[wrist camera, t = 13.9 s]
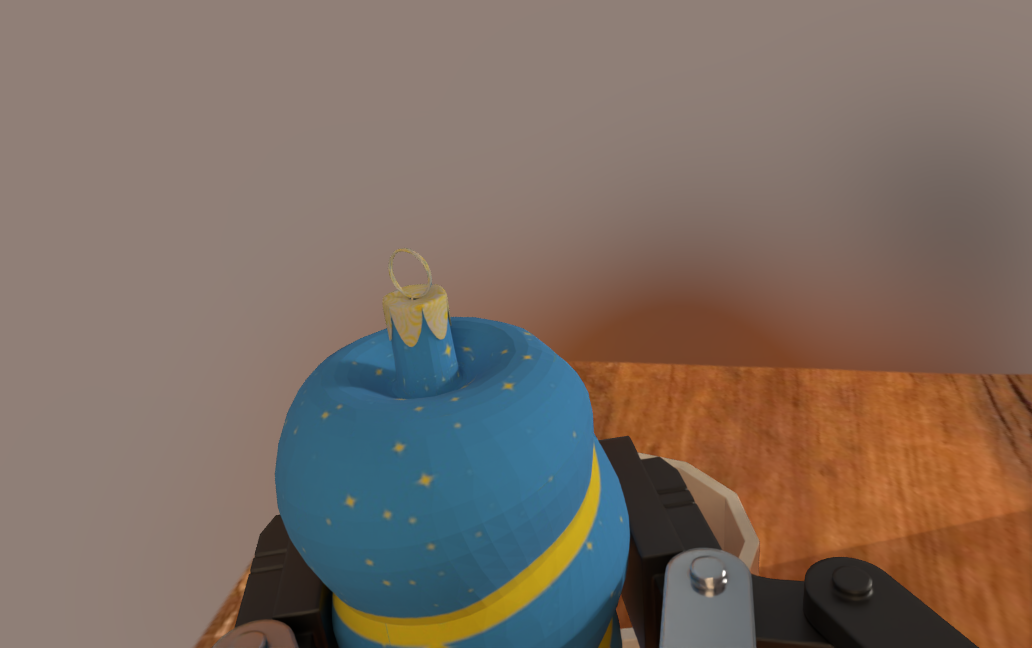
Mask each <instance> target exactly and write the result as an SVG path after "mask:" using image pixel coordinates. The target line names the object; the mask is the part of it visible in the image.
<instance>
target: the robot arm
mask: <svg viewBox="0 0 1032 648" xmlns="http://www.w3.org/2000/svg"><path fill="white" fill-rule="evenodd" d="M598 441H599V443H600V445H601V446H602V448H603V450H604V452H605V454H606V455H607V457H608V459H609V461H610V463H611V465H612V467H613V469H614V471H615V473H616V475H617V477H618V479H619V482H620V485H621V489H622V492H623V495H624V499H625V503H626V507H627V511H628V515H629V528H630V543H629V558H628V568H627V573H626V577H625V581H624V585H623V588H622V592H621V595H622V598H623V601H624V604H625V606H626V609H627V612H628V615H629V618H630V621H631V624H632V626H633V629H634V632H635V635H636V638H637V641H638V644H639V647H640V648H979V647H977V646H976V645H975V644H974V643H973V642H971V641H970V640H969V639H968V638H966V637H965V636H964V635H963V634H961V633H960V632H959V631H958V630H956V629H955V628H954V627H953V626H951V625H950V624H949V623H948V622H947V621H945V620H944V619H943V618H942V617H940V616H939V615H938V614H937V613H935V612H934V611H933V610H932V609H930V608H929V607H928V606H927V605H926V604H924V603H923V602H922V601H921V600H919V599H918V598H917V597H916V596H914V595H913V594H912V593H911V592H909V591H908V590H907V589H906V588H904V587H903V586H902V585H901V584H900V583H898V582H897V581H896V580H895V579H893V578H892V577H891V576H890V575H888V574H887V573H886V572H884V571H883V570H882V569H880V568H878V567H877V566H875V565H873V564H871V563H868V562H866V561H862V560H859V559H854V558H848V557H833V558H827V559H823V560H820V561H818V562H816V563H815V564H813V565H812V566H811V567H810V568H809V569H808V570H807V573H806V575H805V581H792V580H779V579H770V578H765V577H760V576H757V575H754V574H751V573H750V571H749V569H748V567H747V566H746V564H745V563H744V562H743V561H742V560H740V559H739V558H738V557H736V556H734V555H733V554H731V553H728V552H726V551H723V550H722V548H721V547H720V545H719V543H718V541H717V539H716V538H715V536H714V534H713V532H712V530H711V529H710V527H709V525H708V523H707V521H706V520H705V518H704V516H703V514H702V512H701V511H700V509H699V507H698V505H697V503H695V500H694V498H693V496H692V494H691V493H690V491H689V490H688V489H687V485H686V484H685V482H684V480H683V478H682V476H681V475H680V473H679V471H678V470H677V469H676V468H675V467H673V466H672V465H670V464H669V463H668V462H666V461H665V460H663V459H662V458H661V457H653V458H647V459H640V457H639V455H638V452H637V450H636V448H635V446H634V444H633V442H632V440H631V438H630V437H629V436H624V437H617V438H611V439H604V440H598ZM250 571H251V574H249V577H248V580H247V584H246V588H245V591H244V595H243V599H242V602H241V606H240V610H239V614H238V617H237V621H236V625H235V628H234V629H233V630H231V631H229V632H228V633H227V634H225V635H224V636H222V637H221V638H220V639H219V640H218V641H217V642H216V643H215V644H214V646H213V647H212V648H339V646H338V643H337V641H336V637H335V634H334V631H333V626H332V593H333V592H332V591H331V590H330V589H329V588H328V587H327V586H326V585H325V584H324V583H323V582H322V581H321V579H320V578H319V577H318V576H317V575H316V574H315V573H314V572H313V571H312V569H311V568H310V567H309V566H308V565H307V564H306V562H305V561H304V559H303V558H302V556H301V555H300V553H299V552H298V550H297V549H296V547H295V546H294V544H293V543H292V541H291V539H290V538H289V535H288V533H287V530H286V528H285V525H284V523H283V520H282V518H281V515H276V516H275V517H274V518H273V519H272V521H271V522H270V523H269V524H268V525H267V527H266V528H265V529H264V530H263V531H262V533H261V534H260V536H259V540H258V544H257V547H256V551H255V558H253V562H252V566H251V569H250Z"/></svg>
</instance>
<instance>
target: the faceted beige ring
mask: <svg viewBox="0 0 1032 648" xmlns="http://www.w3.org/2000/svg"><path fill="white" fill-rule="evenodd" d="M638 455H639V457H640V459H647V458H653V457H658V456H653V455H648V454H643V453H638ZM661 458H662V459H663V460H665V461H666V462H668V463H669V464H670V465H672V466H673V467H675V468H676V469H677V470H678V471H679V473H680V475H681V476H682V478H683V480H684V482H685V484H686V485H687V489H688V490H689V491H690V493H691V494H692V496H693V498H694V500H695V503H697V505H698V507H699V509H700V511H701V512H702V514H703V516H704V518H705V520H706V521H707V523H708V525H709V527H710V529H711V530H712V532H713V534H714V536H715V538H716V539H717V541H718V543H719V545H720V547H721V548H722V550H723V551H726V552H728V553H731V554H733V555H734V556H736V557H738V558H739V559H740V560H742V561H743V562H744V563H745V564H746V566H747V567H748V569H749V571H750V573H751V574H754V575H757V576H759V555H760V541H759V539H758V537H757V535H756V533H755V531H754V529H753V527H752V524H751V522H750V520H749V518H748V516H747V514H746V512H745V510H744V508H743V506H742V504H741V502H740V500H739V498H738V495H737V494H736V493H735V492H733V491H732V490H730V489H728V488H727V487H725V486H724V485H722V484H721V483H719V482H717V481H716V480H714V479H713V478H711V477H709V476H708V475H706V474H705V473H703V472H701V471H700V470H698V469H697V468H695V467H694V466H692V465H690V464H689V463H687V462H683V461H678V460H673V459H668V458H663V457H661ZM620 631H621V638H622V648H640V647H639V644H638V641H637V638H636V635H635V632H634V629H633V628H623V629H620Z"/></svg>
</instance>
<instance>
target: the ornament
mask: <svg viewBox="0 0 1032 648" xmlns="http://www.w3.org/2000/svg"><path fill="white" fill-rule="evenodd" d="M398 252H408V253H411V254H413V255H414V256H415V257H416V258H417V259H419V260H420V261H421V263H422V264H423V266H424V268H425V270H426V272H427V276H428V284H422V285H421V284H420V285H408V286H405V287H403V288H401V287H400V286H399V284H398V283H397V281H396V279H395V277H394V274H393V259H394V256H395V254H396V253H398ZM388 269H389V275H390V278H391V280H392V282H393V284H394V285H395V287H396V288H397V289H398V290H395V291H393V292H391V293H389V294H387V295H386V296H384V297H383V310H384V315H385V320H386V325H387V328H386V329H384V330H381V331H378V332H376V333H373V334H371V335H368V336H365V337H363V338H360V339H359V340H357V341H355V342H353V343H351V344H349V345H347V346H345V347H343V348H341V349H340V350H338V351H337V352H335V353H333V354H332V355H330V356H329V357H328V358H327V359H325V360H324V361H323V362H322V363H321V364H320V365H319V366H318V367H317V368H316V369H315V370H314V371H313V372H312V374H311V375H310V376H309V377H308V378H307V379H306V380H305V382H304V383H303V385H302V386H301V388H300V389H299V391H298V393H297V395H296V397H295V399H294V401H293V403H292V405H291V407H290V409H289V411H288V413H287V416H286V419H285V423H284V426H283V430H282V433H281V437H280V440H279V443H278V452H277V461H276V469H275V484H276V493H277V503H278V509H279V512H280V515H281V518H282V520H283V523H284V525H285V528H286V530H287V533H288V535H289V538H290V539H291V541H292V543H293V544H294V546H295V547H296V549H297V550H298V552H299V553H300V555H301V556H302V558H303V559H304V561H305V562H306V564H307V565H308V566H309V567H310V568H311V569H312V571H313V572H314V573H315V574H316V575H317V576H318V577H319V578H320V579H321V581H322V582H323V583H324V584H325V585H326V586H327V587H328V588H329V589H330V590H331V591H332V592H333V593H332V626H333V631H334V634H335V637H336V641H337V643H338V646H339V648H622V638H621V631H620V625H619V619H618V615H617V612H616V607H617V605H618V601H619V598H620V595H621V592H622V588H623V585H624V581H625V577H626V573H627V568H628V558H629V543H630V528H629V515H628V511H627V507H626V503H625V499H624V495H623V492H622V489H621V485H620V482H619V479H618V477H617V475H616V473H615V471H614V469H613V467H612V465H611V463H610V461H609V459H608V457H607V455H606V454H605V452H604V450H603V448H602V446H601V445H600V443H599V441H598V440H597V438H596V436H595V434H594V429H593V412H592V408H591V403H590V399H589V394H588V391H587V389H586V387H585V385H584V383H583V382H582V380H581V379H580V377H579V376H578V374H577V373H576V371H575V370H574V369H573V368H572V367H571V366H570V365H569V364H568V363H567V362H566V361H565V360H563V359H562V358H561V357H560V356H558V355H557V354H556V353H555V352H554V351H552V349H550V348H549V347H548V346H547V345H545V344H544V343H543V342H541V341H540V340H539V339H538V338H536V337H535V336H534V335H532V334H531V333H530V332H528V331H526V330H525V329H523V328H520V327H517V326H514V325H510V324H507V323H503V322H498V321H493V320H487V319H481V318H476V317H450V312H449V306H448V299H447V294H446V292H445V290H444V289H443V288H442V287H441V286H440V285H437V284H432V277H431V271H430V269H429V267H428V264H427V263H426V261H425V260H424V259H423V258H422V257H421V256H420V255H419V254H418V253H417V252H415V251H413V250H410V249H407V248H406V249H405V248H402V249H399V250H396V251H395V252H394V253H393V254H392V255H391V257H390V260H389V266H388Z"/></svg>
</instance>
